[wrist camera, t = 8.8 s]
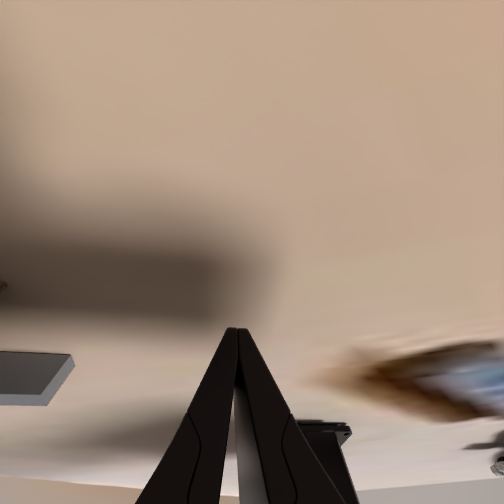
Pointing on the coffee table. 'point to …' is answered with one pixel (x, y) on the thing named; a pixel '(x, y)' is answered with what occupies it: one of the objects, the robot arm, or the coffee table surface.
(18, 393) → the pocket
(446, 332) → the coffee table surface
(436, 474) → the coffee table surface
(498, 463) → the robot toy
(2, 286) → the eagle figurine
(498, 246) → the coffee table surface
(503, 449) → the coffee table surface
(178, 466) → the robot arm
